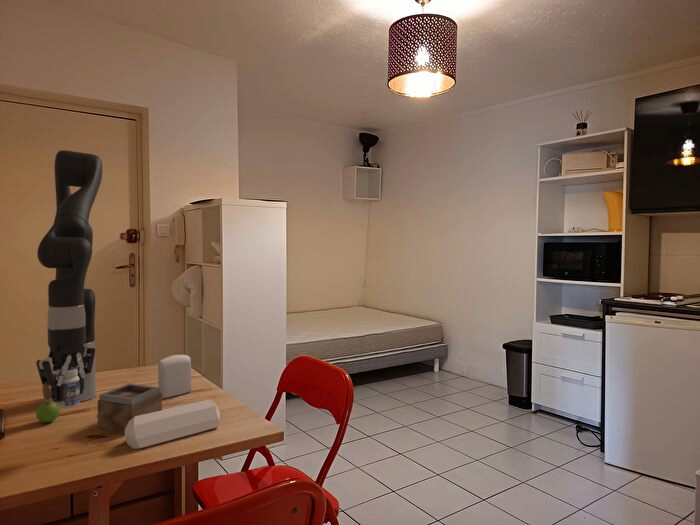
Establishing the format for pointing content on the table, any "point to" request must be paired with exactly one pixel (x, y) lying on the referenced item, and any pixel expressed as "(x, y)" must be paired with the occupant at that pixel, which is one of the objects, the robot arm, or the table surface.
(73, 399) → the pill bottle
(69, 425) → the table surface
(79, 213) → the robot arm
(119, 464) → the table surface
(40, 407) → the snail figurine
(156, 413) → the crystal
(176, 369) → the photo printer
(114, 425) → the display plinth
